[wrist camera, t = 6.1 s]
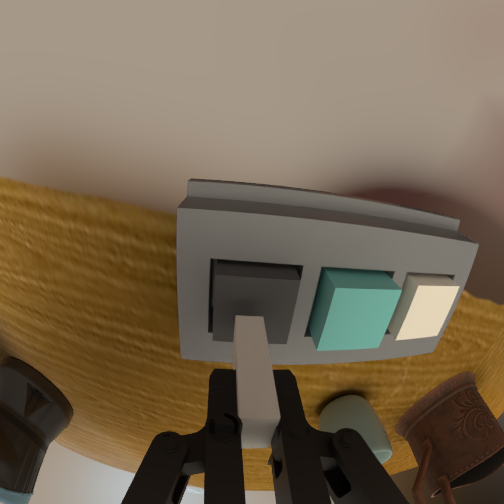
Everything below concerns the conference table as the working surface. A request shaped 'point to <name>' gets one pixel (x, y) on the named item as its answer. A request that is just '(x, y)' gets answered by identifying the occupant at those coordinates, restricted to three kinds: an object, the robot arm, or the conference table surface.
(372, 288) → the teal key
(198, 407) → the conference table surface
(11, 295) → the conference table surface
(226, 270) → the black key
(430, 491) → the cup holder
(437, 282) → the ivory key
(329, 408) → the cup
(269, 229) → the console
